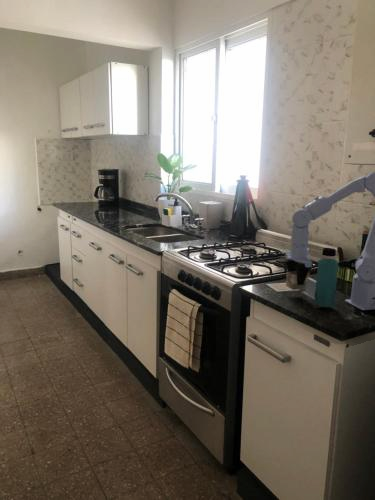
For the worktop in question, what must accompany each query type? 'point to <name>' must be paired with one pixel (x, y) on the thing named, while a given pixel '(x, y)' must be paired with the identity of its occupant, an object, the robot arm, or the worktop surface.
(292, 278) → the letter cube
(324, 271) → the beverage bottle
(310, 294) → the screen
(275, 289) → the tile
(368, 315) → the worktop surface
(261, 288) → the worktop surface
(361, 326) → the worktop surface
